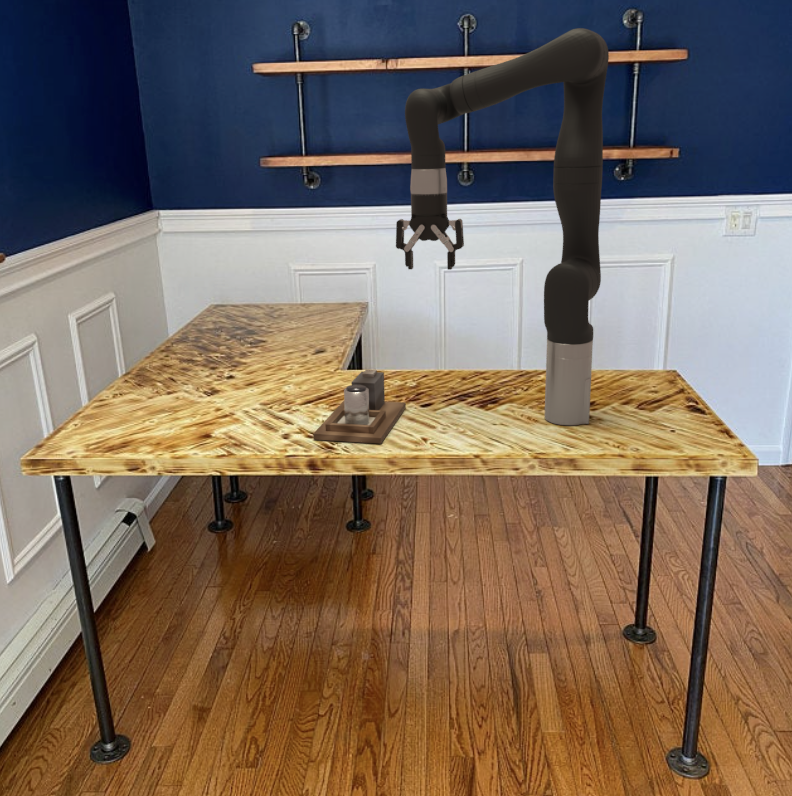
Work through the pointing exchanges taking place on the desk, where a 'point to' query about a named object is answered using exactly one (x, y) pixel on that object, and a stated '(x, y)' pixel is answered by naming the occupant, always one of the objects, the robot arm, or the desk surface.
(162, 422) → the desk surface
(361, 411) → the lens
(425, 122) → the robot arm
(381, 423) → the dock
